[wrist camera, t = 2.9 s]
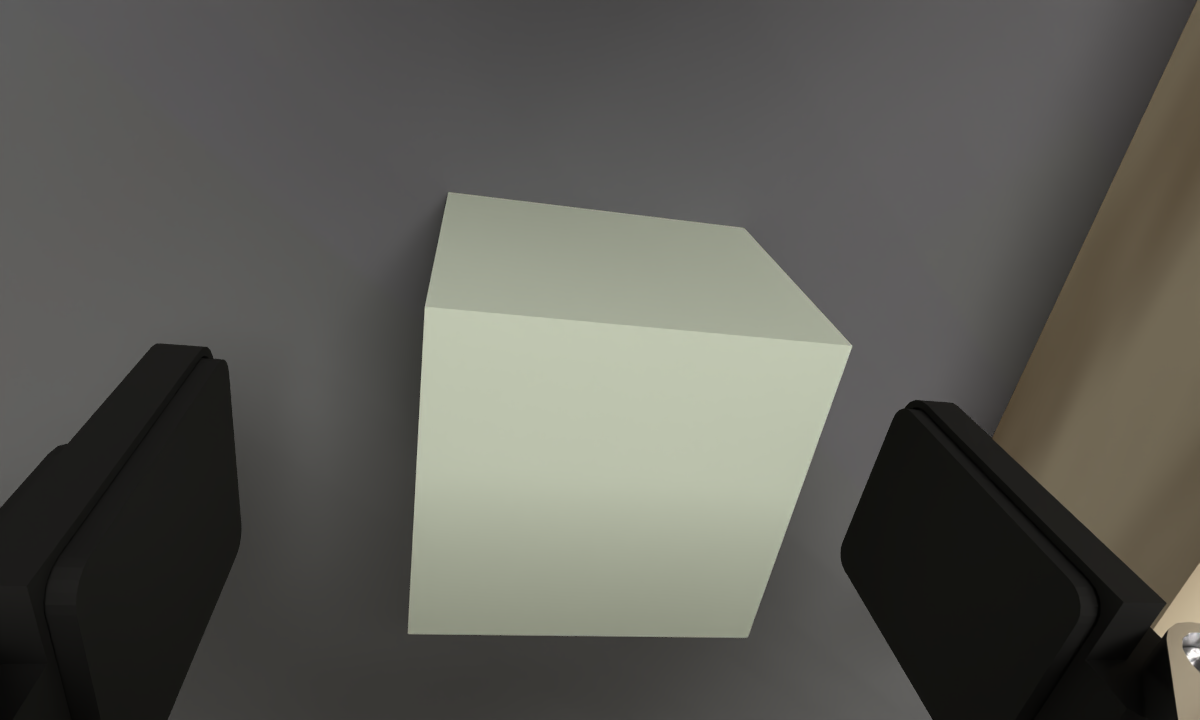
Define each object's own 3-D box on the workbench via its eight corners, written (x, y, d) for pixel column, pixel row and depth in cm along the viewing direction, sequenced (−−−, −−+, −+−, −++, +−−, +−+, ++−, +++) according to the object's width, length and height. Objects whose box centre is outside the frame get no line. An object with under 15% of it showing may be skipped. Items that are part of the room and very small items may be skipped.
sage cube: (741, 226, 13) (852, 345, 9) (681, 460, 15) (747, 638, 11) (448, 190, 12) (425, 306, 8) (432, 445, 14) (407, 634, 10)
